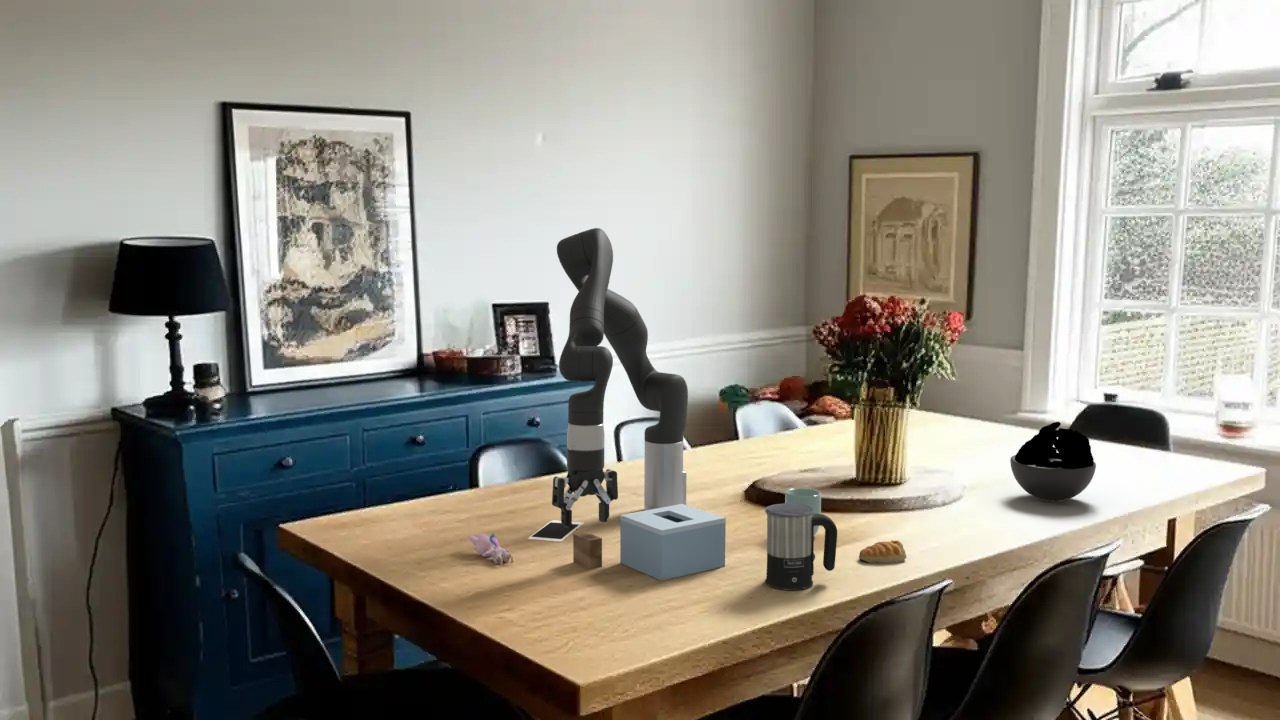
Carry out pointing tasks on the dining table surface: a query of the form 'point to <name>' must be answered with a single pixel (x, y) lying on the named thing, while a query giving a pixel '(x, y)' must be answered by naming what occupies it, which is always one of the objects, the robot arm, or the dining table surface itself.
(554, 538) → the cell phone
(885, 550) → the pastry
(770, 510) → the milk frother
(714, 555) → the box
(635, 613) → the dining table surface
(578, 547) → the wooden rectangular block
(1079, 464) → the bowl of black rocks
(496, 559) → the rabbit figure
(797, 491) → the cup
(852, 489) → the dining table surface
